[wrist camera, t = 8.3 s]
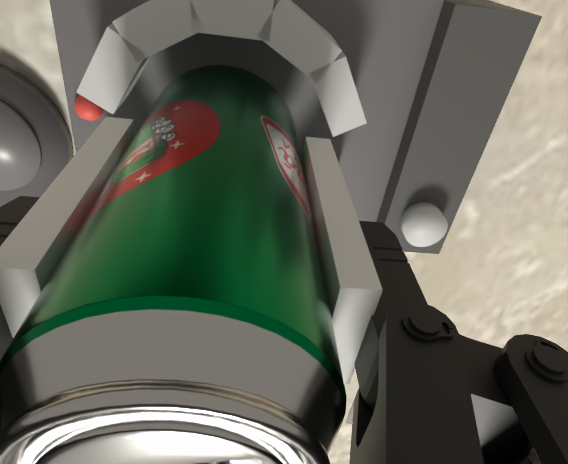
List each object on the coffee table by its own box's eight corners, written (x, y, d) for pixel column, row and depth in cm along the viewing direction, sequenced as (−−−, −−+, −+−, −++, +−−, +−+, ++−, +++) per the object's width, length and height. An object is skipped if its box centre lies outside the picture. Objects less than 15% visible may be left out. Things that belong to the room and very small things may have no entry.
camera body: (117, 164, 23) (65, 250, 16) (92, -61, 17) (-3, -57, 11) (402, 189, 24) (450, 275, 18) (467, -6, 19) (569, 24, 12)
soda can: (292, 193, 17) (340, 558, 7) (163, 194, 16) (27, 575, 7) (297, 61, 14) (394, 373, 4) (141, 58, 13) (-159, 388, 4)
